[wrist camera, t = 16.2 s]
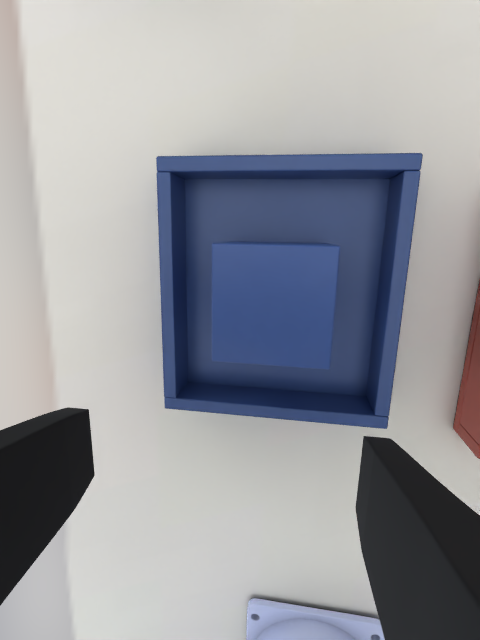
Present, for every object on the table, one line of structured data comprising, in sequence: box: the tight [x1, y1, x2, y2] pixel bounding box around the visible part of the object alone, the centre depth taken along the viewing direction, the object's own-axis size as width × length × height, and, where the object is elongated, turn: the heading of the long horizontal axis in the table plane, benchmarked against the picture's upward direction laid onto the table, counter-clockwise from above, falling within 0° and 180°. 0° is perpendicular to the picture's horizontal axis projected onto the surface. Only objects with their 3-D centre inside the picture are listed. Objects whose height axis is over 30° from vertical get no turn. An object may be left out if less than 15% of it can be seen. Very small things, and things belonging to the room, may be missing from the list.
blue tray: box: [156, 153, 423, 429], centre depth 16 cm, size 11×10×2 cm
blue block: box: [212, 241, 340, 369], centre depth 15 cm, size 4×4×4 cm
